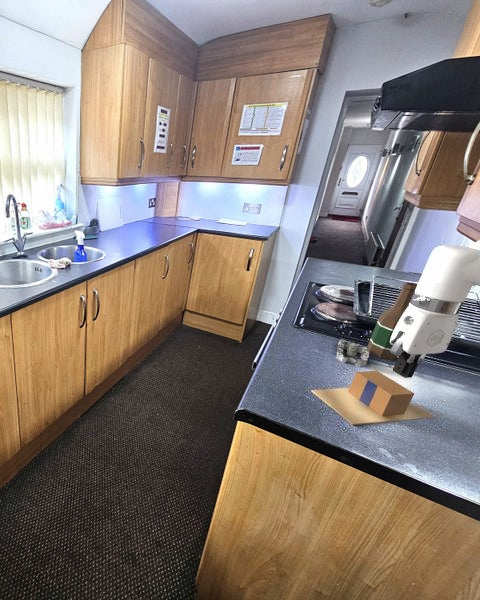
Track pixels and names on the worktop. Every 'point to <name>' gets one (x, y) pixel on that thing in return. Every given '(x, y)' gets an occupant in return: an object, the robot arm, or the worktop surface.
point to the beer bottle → (390, 325)
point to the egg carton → (352, 353)
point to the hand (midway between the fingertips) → (401, 374)
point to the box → (380, 393)
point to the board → (364, 408)
